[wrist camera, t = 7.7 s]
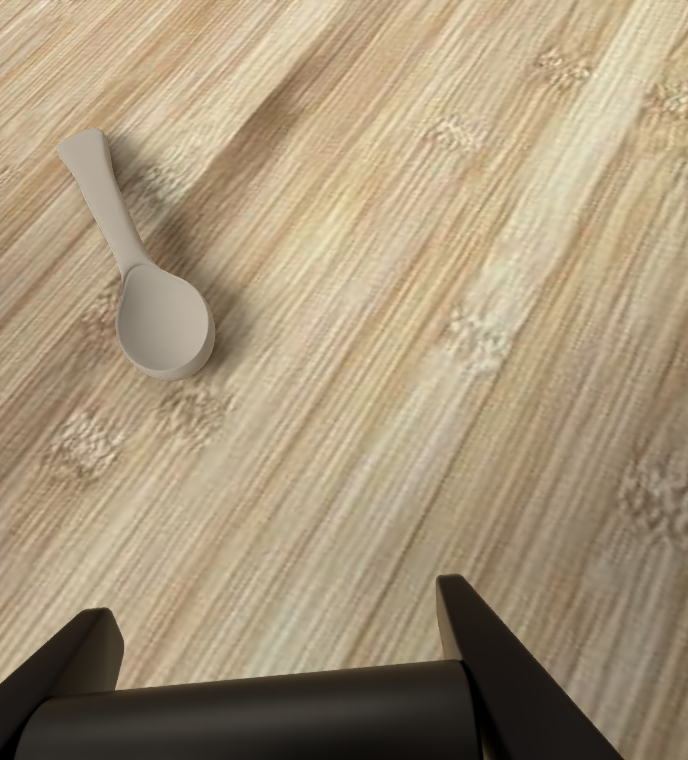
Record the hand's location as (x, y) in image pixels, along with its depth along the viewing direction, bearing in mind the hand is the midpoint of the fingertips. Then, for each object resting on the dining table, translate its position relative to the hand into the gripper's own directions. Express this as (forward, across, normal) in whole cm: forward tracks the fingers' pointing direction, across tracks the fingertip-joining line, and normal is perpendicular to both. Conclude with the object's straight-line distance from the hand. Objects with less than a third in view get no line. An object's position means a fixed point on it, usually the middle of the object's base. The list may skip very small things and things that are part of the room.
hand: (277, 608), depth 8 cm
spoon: (+12, +6, -4) cm, 14 cm away
